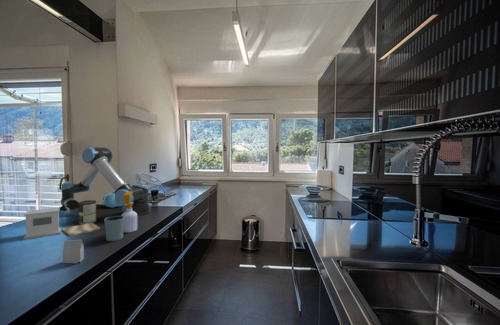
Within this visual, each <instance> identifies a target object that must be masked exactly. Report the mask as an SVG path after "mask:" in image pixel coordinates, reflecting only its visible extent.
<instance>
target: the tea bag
mask: <svg viewBox="0 0 500 325" xmlns="http://www.w3.org/2000/svg"><path fill="white" fill-rule="evenodd" d="M83 259H84V260H85V246H84V242H83V239H69V240H64V243H63V248H62V264H63V263H73V264H79V263H78V262H81V261H82V260H83ZM84 260H83V261H84ZM83 261H82V262H83ZM82 262H81V263H82Z"/></svg>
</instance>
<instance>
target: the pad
mask: <svg viewBox="0 0 500 325" xmlns="http://www.w3.org/2000/svg"><path fill="white" fill-rule="evenodd" d="M99 230H101V227H100V226H98V225H97V224H95V223H94V222H92V223H87V224H79V225H73V226H69V227H64V228H63V227H61V231H63V232H64V233H65V234H66V235H67V236H68V237H71V236H72V237H73V236H78V235H81V234H85V233H90V232H94V231H99Z"/></svg>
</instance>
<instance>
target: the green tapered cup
mask: <svg viewBox="0 0 500 325" xmlns="http://www.w3.org/2000/svg"><path fill="white" fill-rule="evenodd" d="M103 221H104V228H105V231H104V232H105V239H106V241H107V242H116V241H119V240H120V241H121V240H122V239H123V238H124V232H123V229H124V228H123V227H124V216H121V215H112V216H107V217H105V218H104V220H103Z"/></svg>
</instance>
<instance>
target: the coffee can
mask: <svg viewBox="0 0 500 325" xmlns="http://www.w3.org/2000/svg"><path fill="white" fill-rule="evenodd" d="M78 204H79V207H78V223H79V225H82V224H87V223H95V222H97V200H94V199H93V200H82V201H78Z"/></svg>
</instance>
